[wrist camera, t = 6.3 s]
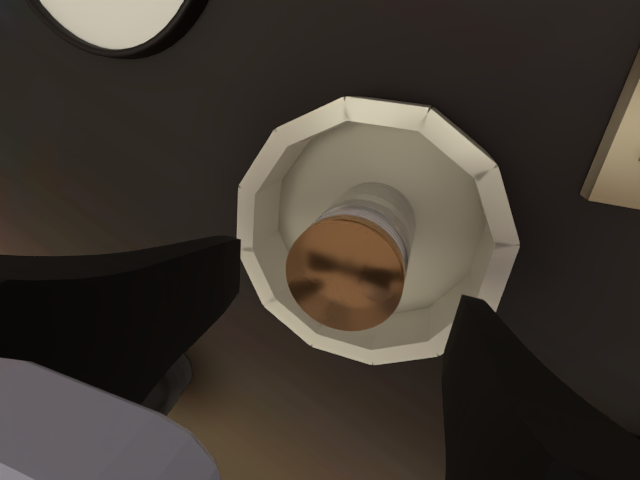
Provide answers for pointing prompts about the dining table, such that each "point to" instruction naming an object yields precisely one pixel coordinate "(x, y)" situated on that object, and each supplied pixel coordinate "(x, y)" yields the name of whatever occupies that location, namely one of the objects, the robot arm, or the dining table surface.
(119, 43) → the magnifying glass
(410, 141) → the cup
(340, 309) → the cylinder
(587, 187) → the checker cradle
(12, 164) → the dining table surface
